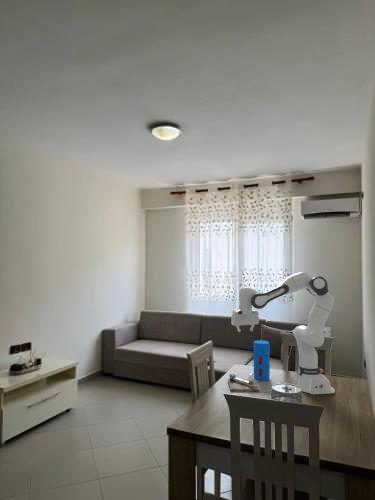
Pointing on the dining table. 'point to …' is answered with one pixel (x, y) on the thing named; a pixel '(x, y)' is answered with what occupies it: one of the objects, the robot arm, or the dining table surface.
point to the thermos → (261, 360)
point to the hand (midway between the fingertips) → (245, 331)
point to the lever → (250, 382)
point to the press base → (243, 386)
